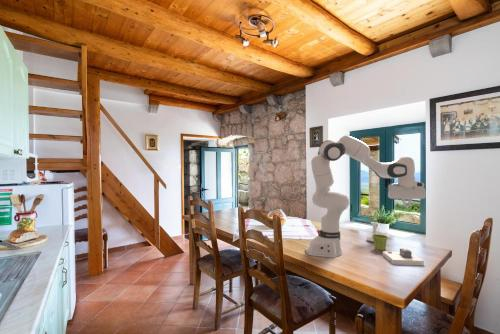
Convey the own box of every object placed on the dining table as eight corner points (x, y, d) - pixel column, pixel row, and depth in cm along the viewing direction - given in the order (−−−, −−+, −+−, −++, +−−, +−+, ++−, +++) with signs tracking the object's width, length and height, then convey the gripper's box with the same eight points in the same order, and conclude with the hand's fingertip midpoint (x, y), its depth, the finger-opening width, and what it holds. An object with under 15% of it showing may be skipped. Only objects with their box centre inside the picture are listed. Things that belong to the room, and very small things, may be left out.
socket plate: (393, 264, 137) (393, 258, 137) (382, 255, 151) (382, 250, 151) (423, 265, 135) (423, 259, 135) (410, 256, 149) (410, 251, 149)
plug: (404, 261, 141) (404, 250, 141) (399, 258, 146) (399, 247, 146) (411, 262, 140) (411, 250, 140) (407, 258, 145) (407, 248, 145)
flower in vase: (379, 239, 184) (379, 206, 184) (386, 244, 173) (386, 208, 173) (361, 239, 186) (361, 206, 186) (367, 243, 174) (366, 208, 174)
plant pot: (379, 252, 157) (379, 238, 157) (369, 247, 166) (368, 234, 166) (391, 250, 159) (391, 237, 160) (380, 246, 169) (380, 233, 169)
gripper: (390, 183, 147) (390, 206, 147) (427, 183, 145) (427, 207, 145) (386, 183, 154) (386, 205, 154) (421, 183, 151) (421, 205, 151)
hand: (406, 206), depth 149 cm, fingers closed
